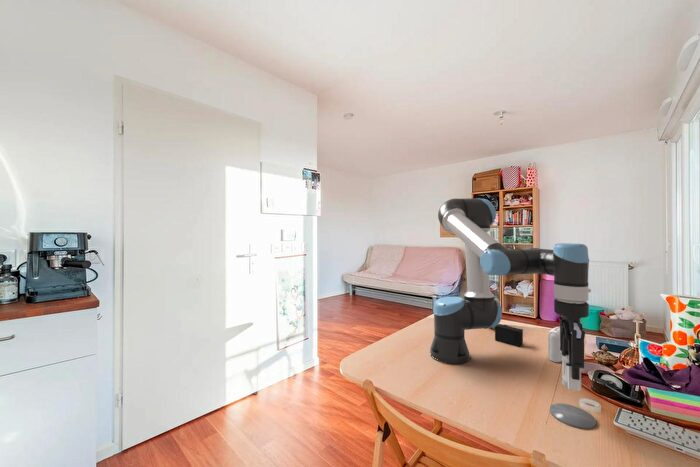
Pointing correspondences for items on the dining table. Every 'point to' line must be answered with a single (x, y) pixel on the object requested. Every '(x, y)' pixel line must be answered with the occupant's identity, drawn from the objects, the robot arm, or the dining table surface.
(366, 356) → the dining table surface
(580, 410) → the grey disc
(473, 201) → the robot arm
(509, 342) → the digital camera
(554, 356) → the white rounded block
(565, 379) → the rook chess piece
